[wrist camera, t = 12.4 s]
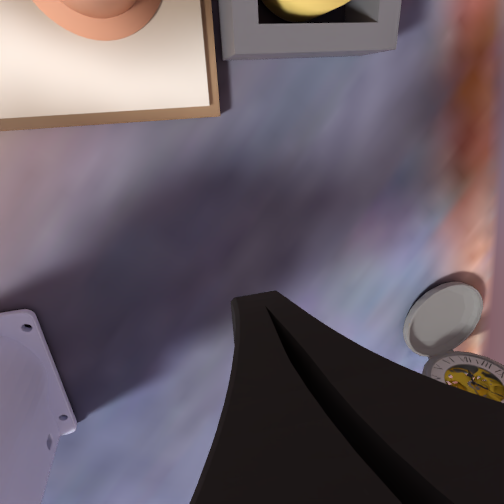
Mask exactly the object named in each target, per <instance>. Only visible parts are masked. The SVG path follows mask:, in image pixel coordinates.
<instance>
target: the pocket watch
mask: <svg viewBox="0 0 504 504" xmlns="http://www.w3.org/2000/svg"><path fill="white" fill-rule="evenodd" d="M482 309H483V301H482V297H481V295H480V293H479V292H478V291H477V290H476V289H475V288H474V287H473V286H471V285H468V284H466V283H462V282H449V283H444V284H441V285H439V286H437V287H435V288H433V289H431V290H429V291H427V292H426V293H425V294H424V295H423V296H422V297H421V298H419V299H418V300H417V302H416V303H415V304H414V305H413V306H412V308H411V309H410V311H409V313H408V315H407V317H406V319H405V323H404V328H403V334H404V340H405V342H406V344H407V345H408V347H409V348H410V349H411V350H412V351H413V352H414V353H416V354H418V355H420V356H427V357H428V358H429V360H428V361H427V363H426V364H425V365H424V369H423V373H422V375H425V376H428V377H430V378H433V379H435V380H438V381H440V382H443V383H445V384H448V383H447V382H446V381H449V382H450V383H452V382H453V381H457V382H458V383H457V384H453V383H452V384H453V385H451V386H454V387H456V386H457V388H459V389H462V390H465V391H468V392H471V393H474V394H477V395H480V396H483V397H486V398H489V399H492V400H495V401H499V402H502V403H504V365H502V364H500V363H498V362H496V361H494V360H492V359H490V358H488V357H485V356H481V355H477V354H473V353H470V352H460V351H455V352H454V351H453V350H452V349H454V348H456V347H457V346H458V345H460V344H461V343H462V342H463V341H465V340H466V339H467V338H468V336H469V335H470V334H471V333H472V332H473V330H474V329H475V327H476V325H477V323H478V322H479V320H480V317H481V313H482ZM466 374H467V376H466ZM450 375H452V376H453V378H452V379H451V378H449V376H450ZM473 377H475V379H474V380H473ZM477 377H480V378H479V379H477ZM482 380H485V381H482ZM467 382H468V383H467ZM468 385H469V386H468Z"/></svg>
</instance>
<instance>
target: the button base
mask: <svg viewBox="0 0 504 504" xmlns="http://www.w3.org/2000/svg"><path fill="white" fill-rule="evenodd" d="M401 1H402V0H350V1H349V2H347V3H346V4H345V20H344V23H293V24H258V0H218V10H219V23H220V37H221V50H222V60H251V59H280V58H309V57H338V56H361V55H367V54H373V53H378V52H384V51H389V50H395V49H396V44H397V36H398V27H399V18H400V10H401Z"/></svg>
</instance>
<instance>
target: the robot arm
mask: <svg viewBox="0 0 504 504" xmlns="http://www.w3.org/2000/svg"><path fill="white" fill-rule="evenodd" d="M231 309H232V321H233V332H234V344H235V348H234V355H233V363H232V370H231V375H230V381H229V385H228V390H227V394H226V398H225V403H224V406H223V410H222V413H221V417H220V420H219V424H218V428H217V431H216V434H215V437H214V440H213V443H212V446H211V449H210V452H209V454H208V457H207V460H206V462H205V465H204V468H203V471H202V473H201V476H200V479H199V481H198V484H197V487H196V489H195V492H194V494H193V497H192V499H191V501H190V504H504V403H502V402H499V401H495V400H492V399H489V398H486V397H483V396H480V395H477V394H474V393H471V392H468V391H465V390H462V389H459V388H456V387H454V386H451V385H448V384H445V383H443V382H440V381H438V380H435V379H433V378H430V377H428V376H425V375H422V374H420V373H417V372H415V371H413V370H410V369H408V368H406V367H403V366H401V365H399V364H397V363H395V362H392V361H390V360H388V359H386V358H384V357H382V356H380V355H378V354H376V353H374V352H372V351H370V350H368V349H366V348H364V347H362V346H360V345H359V344H357V343H355V342H353V341H352V340H350V339H348V338H346V337H345V336H343V335H341V334H339V333H338V332H336V331H335V330H333V329H331V328H330V327H328V326H327V325H325V324H323V323H322V322H320V321H319V320H317V319H316V318H314V317H313V316H311V315H310V314H309V313H307V312H306V311H304V310H303V309H301V308H300V307H298V306H297V305H296V304H294V303H293V302H291V301H290V300H289V299H287V298H286V297H284V296H283V295H282V294H280V293H279V292H277V291H270V292H264V293H259V294H253V295H247V296H242V297H236V298H234V299H233V300H232V301H231ZM24 324H29V325H31V326H32V327H31V328H28V327H25V326H24ZM63 415H66V416H63ZM76 427H77V421H76V418H75V415H74V413H73V410H72V408H71V405H70V402H69V400H68V397H67V395H66V392H65V389H64V387H63V384H62V382H61V379H60V376H59V374H58V371H57V369H56V366H55V363H54V361H53V358H52V356H51V353H50V350H49V348H48V345H47V343H46V340H45V337H44V335H43V332H42V330H41V327H40V324H39V322H38V319H37V317H36V315H35V313H34V312H33V311H31V310H28V309H21V310H15V311H9V312H3V313H0V504H41V501H42V498H43V494H44V490H45V487H46V483H47V480H48V476H49V473H50V469H51V465H52V462H53V458H54V455H55V451H56V448H57V444H58V440H59V437H60V436H61V435H65V434H69V433H72V432H74V431H75V430H76Z"/></svg>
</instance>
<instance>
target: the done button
mask: <svg viewBox="0 0 504 504" xmlns="http://www.w3.org/2000/svg"><path fill="white" fill-rule="evenodd" d="M262 1H263V3H264V4H265V6H266V7H267V8H268V9H269V10H270V11H271V12H272V13H274V14H275V15H276V16H278V17H280V18H281V19H284V20H286V21H290V22H306V21H309V20H312V19H314V18H316V17H318V16H321V15H323V14H325V13H327V12H329V11H331V10H333V9H335V8H338V7H340V6H342V5H344V4H346V3H347V2H349V1H350V0H262Z"/></svg>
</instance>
